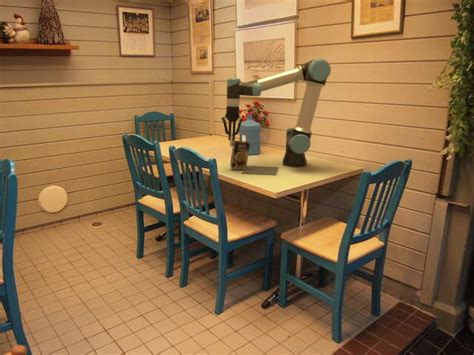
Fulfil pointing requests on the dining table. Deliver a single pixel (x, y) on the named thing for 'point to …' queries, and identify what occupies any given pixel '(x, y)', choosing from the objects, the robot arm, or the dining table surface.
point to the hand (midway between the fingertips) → (231, 146)
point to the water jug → (251, 134)
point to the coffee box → (239, 155)
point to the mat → (260, 170)
